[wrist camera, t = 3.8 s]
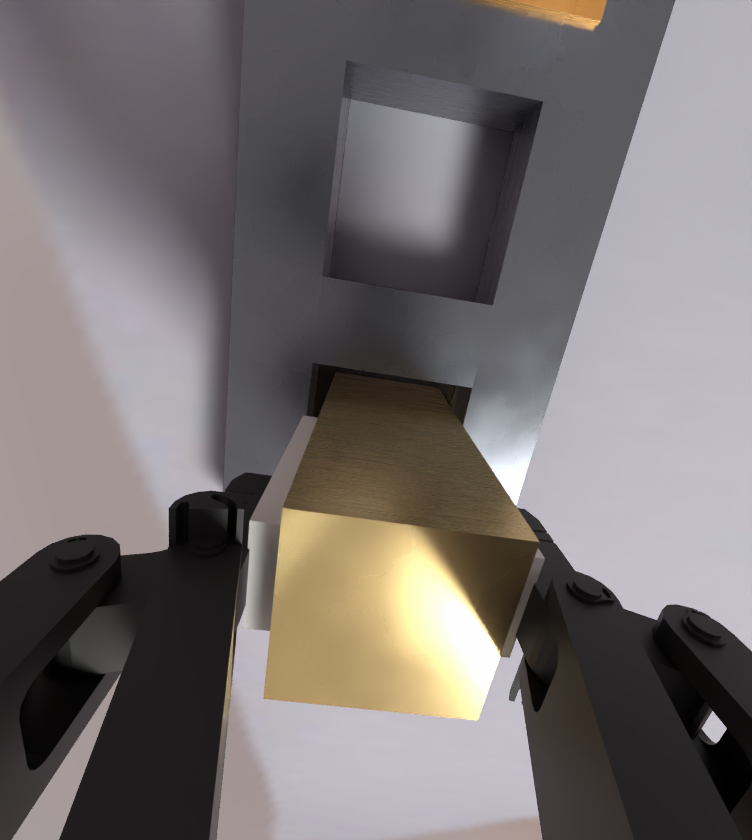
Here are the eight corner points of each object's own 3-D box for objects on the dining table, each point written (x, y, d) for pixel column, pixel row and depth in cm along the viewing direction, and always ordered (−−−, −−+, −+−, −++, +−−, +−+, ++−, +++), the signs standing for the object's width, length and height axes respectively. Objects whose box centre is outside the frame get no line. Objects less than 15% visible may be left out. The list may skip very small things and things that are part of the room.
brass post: (336, 371, 17) (282, 507, 7) (437, 387, 17) (539, 542, 7) (323, 465, 18) (263, 699, 8) (417, 478, 19) (477, 720, 8)
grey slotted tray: (294, -433, 10) (269, -674, 8) (725, -308, 11) (834, -489, 8) (239, 505, 19) (219, 539, 16) (480, 537, 20) (496, 574, 17)
